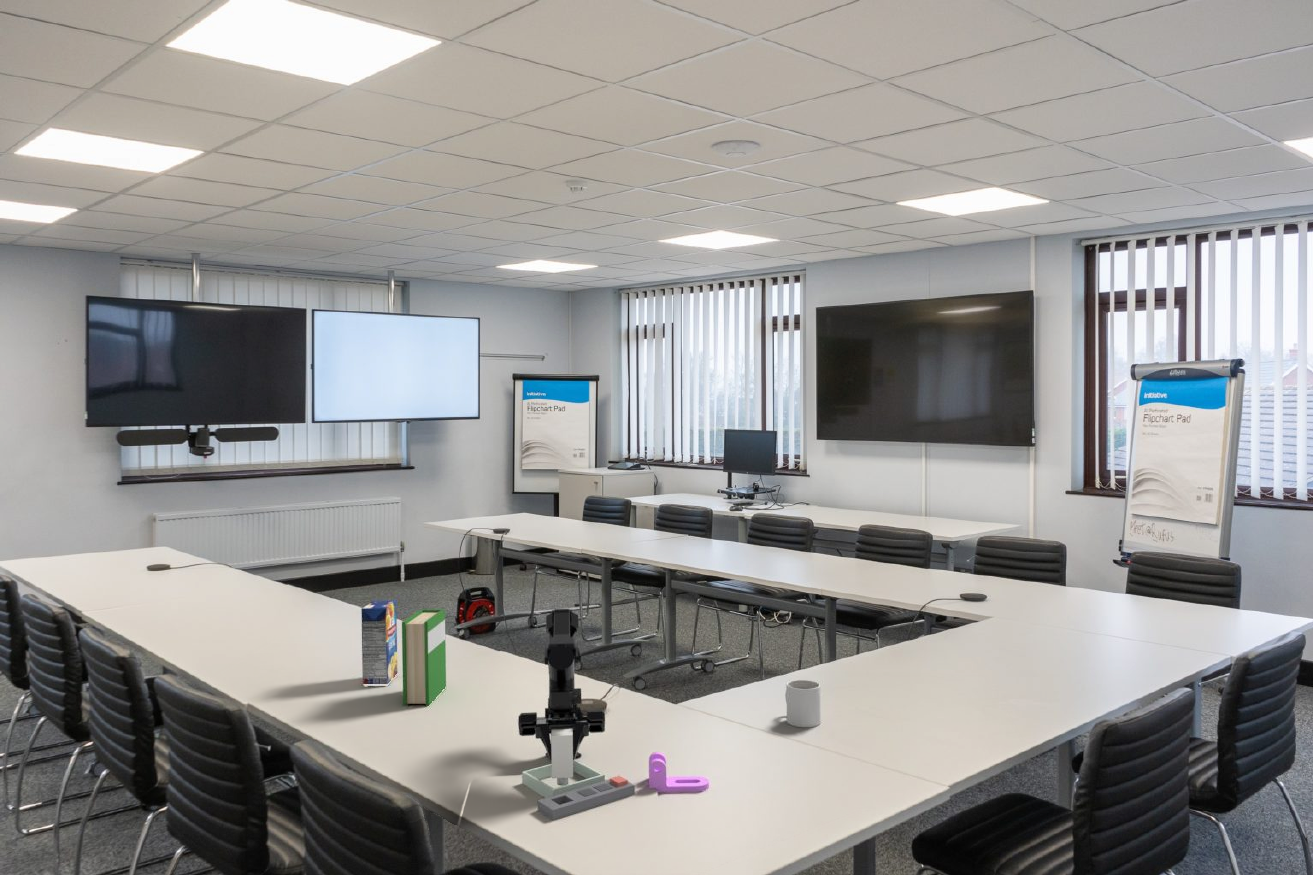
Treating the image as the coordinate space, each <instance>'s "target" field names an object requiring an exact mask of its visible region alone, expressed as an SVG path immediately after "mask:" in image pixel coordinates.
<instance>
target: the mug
mask: <svg viewBox="0 0 1313 875" xmlns="http://www.w3.org/2000/svg"><path fill="white" fill-rule="evenodd" d="M785 685H786V686H785V688H786V689H785V694H784V695H785V702H786V703H785V704H786V722H787V724H788V725H790V726H793V727H798V728H813V727H817V726H820V724H821V723H822V720H821V719H822V716H821V715H822V714H821V713H822V711H821V708H822V707H821V706H822V705H821V702H822V701H821V700H822V698H821V697H822V696H821V683H819V682H818V681H815V680H808V679H796V680H795V679H794V680H790V681H788V682H787V683H786V684H785Z"/></svg>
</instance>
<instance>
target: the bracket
mask: <svg viewBox="0 0 1313 875" xmlns="http://www.w3.org/2000/svg"><path fill="white" fill-rule="evenodd" d="M648 788H649V789H656V791H657V792H656V793H658V792H665V793H698V792H697V791H702V792H704V791H703V790H705V791H707V790H709V788H710V780H709V779H708V778H707V777H705V776H698V775H697V776H695V775H694V776H690V775H688V776H686V775H685V776H683V775H682V776H668V775H667V760H666V755H665V754H664V753H663V752H661V751H655V752H652V753H651V754H650V756H649V757H648ZM706 789H707V790H706Z"/></svg>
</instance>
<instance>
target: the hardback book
mask: <svg viewBox="0 0 1313 875" xmlns="http://www.w3.org/2000/svg"><path fill="white" fill-rule="evenodd" d="M446 645H447V644H446V609H445V608H444V609H441V608H440V609H420V610H418V611H416V612H414V613H413V614H412V615H410V616H409V617H407V618H405V619H404V620H402V621H401V648H402V649H401V651H402V653H401V654H402V655H401V656H402V706H406V707H407V705H408V704H409V705H410V704H417V705H418V704H425V707H426V706H429V705H430V704H431V703H432V701H434V700H435V699H436V697H437V696H438V695H439V694H440V693H441V692H442V690H443V689H445V687H446V688H447V661H446V660H447V656H446V654H447V653H446V652H447V651H446V648H447V647H446ZM445 690H446V689H445ZM442 693H443V692H442ZM436 700H437V699H436ZM436 700H435V701H436ZM435 701H434V702H435ZM432 704H433V703H432ZM432 704H431V705H432ZM409 705H408V706H409ZM431 705H430V706H431ZM430 706H429V707H430Z"/></svg>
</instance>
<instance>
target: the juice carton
mask: <svg viewBox="0 0 1313 875" xmlns="http://www.w3.org/2000/svg"><path fill="white" fill-rule="evenodd" d="M360 612H361V653H362V654H361V656H362V657H361V658H362V659H361V660H362V661H361V662H362V665H361V666H362V685H363V684H388V683H389V682H390V681H391V679H392V678H394V677H395V675H396V674H397V673H398V632H397V631H398V626H397V625H398V624H397V620H398V618H397V617H398V616H397V614H398V613H397V600H372V601H370V602H369V603H367V604H366V605H365V606H363V607H361V611H360Z"/></svg>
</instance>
